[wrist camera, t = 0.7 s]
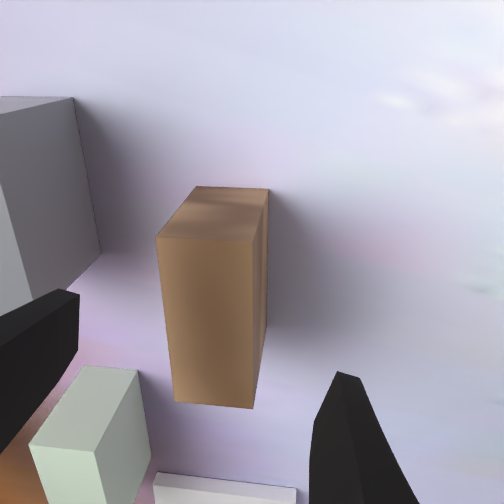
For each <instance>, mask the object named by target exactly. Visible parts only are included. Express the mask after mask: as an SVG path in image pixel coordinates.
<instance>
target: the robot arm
mask: <svg viewBox="0 0 504 504" xmlns="http://www.w3.org/2000/svg"><path fill="white" fill-rule="evenodd" d="M79 303H80V295H79V294H76V293H73V292H69V291H66V290H63V289H59V288H58V289H56V290H54V291H52V292H49V293H47V294H45V295H43V296H41V297H39V298H37V299H35V300H33V301H31V302H29V303H27V304H25V305H23V306H20V307H18V308H16V309H14V310H12V311H10V312H8V313H6V314H4V315H1V316H0V454H1V453H2V452H3V450H4V449H5V448H6V447H7V445H8V444H9V443H10V442H11V440H12V439H13V438H14V437H15V435H16V434H17V433H18V432H19V431H20V429H21V428H22V427H23V426H24V424H25V423H26V422H27V421H28V419H29V418H30V417H31V416H32V414H33V413H34V412H35V411H36V410H37V408H38V407H39V406H40V405H41V403H42V402H43V401H44V399H45V398H46V397H47V396H48V394H49V393H50V392H51V391H52V389H53V388H54V387H55V386H56V384H57V383H58V382H59V380H60V378H61V377H62V375H63V374H64V372H65V371H66V369H67V367H68V366H69V364H70V362H71V361H72V359H73V357H74V356H75V354H76V352H77V351H78V334H79ZM309 504H419V502H418V500H417V498H416V497H415V495H414V493H413V491H412V489H411V487H410V486H409V484H408V482H407V480H406V478H405V476H404V474H403V472H402V470H401V468H400V467H399V465H398V463H397V461H396V458H395V456H394V454H393V452H392V450H391V448H390V446H389V444H388V442H387V440H386V438H385V435H384V433H383V431H382V429H381V427H380V424H379V422H378V420H377V417H376V415H375V413H374V410H373V408H372V406H371V403H370V401H369V398H368V396H367V394H366V391H365V389H364V386H363V384H362V382H361V380H360V378H358V377H355V376H352V375H348V374H345V373H342V372H338V371H337V373H336V375H335V377H334V379H333V381H332V383H331V386H330V388H329V390H328V392H327V394H326V396H325V399H324V401H323V403H322V405H321V407H320V410H319V412H318V414H317V416H316V418H315V420H314V425H313V433H312V441H311V450H310V459H309Z"/></svg>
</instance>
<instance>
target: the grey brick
mask: <svg viewBox="0 0 504 504" xmlns="http://www.w3.org/2000/svg"><path fill="white" fill-rule="evenodd" d="M100 255H101V250H100V244H99V239H98V233H97V228H96V222H95V217H94V211H93V206H92V200H91V195H90V189H89V184H88V178H87V173H86V167H85V162H84V156H83V151H82V145H81V140H80V134H79V129H78V123H77V118H76V112H75V107H74V102H73V97H17V96H1V97H0V315H4V314H6V313H8V312H10V311H12V310H14V309H16V308H18V307H20V306H23V305H25V304H27V303H29V302H31V301H33V300H35V299H37V298H39V297H41V296H43V295H45V294H47V293H49V292H52V291H54V290H56V289H58V288H59V289H63V290H66V289H67V288H68V287H69V286H70V285H71V284H72V283H73V282H74V281H75V280H76V279H77V278H78V277H79V276H80V275H81V274H82V273H83V272H84V271H85V270H86V269H87V268H88V267H89V266H90V265H91V264H92V263H93V262H94V261H95V260H96V259H97V258H98V257H99V256H100Z"/></svg>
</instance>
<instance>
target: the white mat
mask: <svg viewBox="0 0 504 504" xmlns="http://www.w3.org/2000/svg"><path fill="white" fill-rule="evenodd" d="M152 486H153V492H154V498H155V504H296V489H295V488H287V487H279V486H270V485H262V484H253V483H245V482H236V481H228V480H220V479H211V478H203V477H194V476H186V475H177V474H169V473H161V472H157V474H156V476H155V479H154V482H153V485H152Z"/></svg>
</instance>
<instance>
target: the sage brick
mask: <svg viewBox="0 0 504 504" xmlns="http://www.w3.org/2000/svg"><path fill="white" fill-rule="evenodd" d="M28 445H29V448H30V451H31V454H32V457H33V460H34V462H35V465H36V468H37V471H38V474H39V477H40V480H41V483H42V485H43V488H44V491H45V494H46V497H47V500H48V503H49V504H134V501H135V499H136V496H137V494H138V491H139V488H140V486H141V483H142V481H143V478H144V476H145V473H146V470H147V468H148V465H149V463H150V460H151V457H152V456H151V450H150V444H149V437H148V431H147V425H146V419H145V413H144V406H143V400H142V394H141V388H140V382H139V376H138V370H135V369H124V368H112V367H101V366H90V365H84V366H83V368H82V369H81V370H80V372H79V373H78V375H77V376H76V378H75V379H74V380H73V382H72V383H71V385H70V386H69V387H68V389H67V390H66V392H65V393H64V395H63V396H62V397H61V399H60V400H59V402H58V403H57V405H56V406H55V407H54V409H53V410H52V412H51V413H50V415H49V416H48V417H47V419H46V420H45V422H44V423H43V424H42V426H41V427H40V429H39V430H38V432H37V433H36V434H35V436H34V437H33V439H32V440H31V442H30V443H29V444H28Z"/></svg>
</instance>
